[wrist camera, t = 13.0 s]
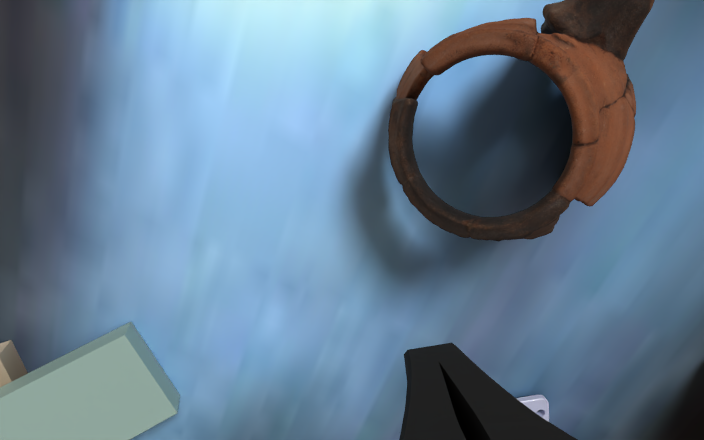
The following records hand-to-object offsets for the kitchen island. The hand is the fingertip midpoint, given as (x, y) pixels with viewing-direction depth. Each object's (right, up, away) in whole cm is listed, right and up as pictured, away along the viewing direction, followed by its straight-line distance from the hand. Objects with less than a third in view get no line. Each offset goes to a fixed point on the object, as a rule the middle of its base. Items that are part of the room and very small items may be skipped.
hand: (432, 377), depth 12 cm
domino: (-12, -3, +10) cm, 16 cm away
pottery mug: (+5, +10, +9) cm, 14 cm away
